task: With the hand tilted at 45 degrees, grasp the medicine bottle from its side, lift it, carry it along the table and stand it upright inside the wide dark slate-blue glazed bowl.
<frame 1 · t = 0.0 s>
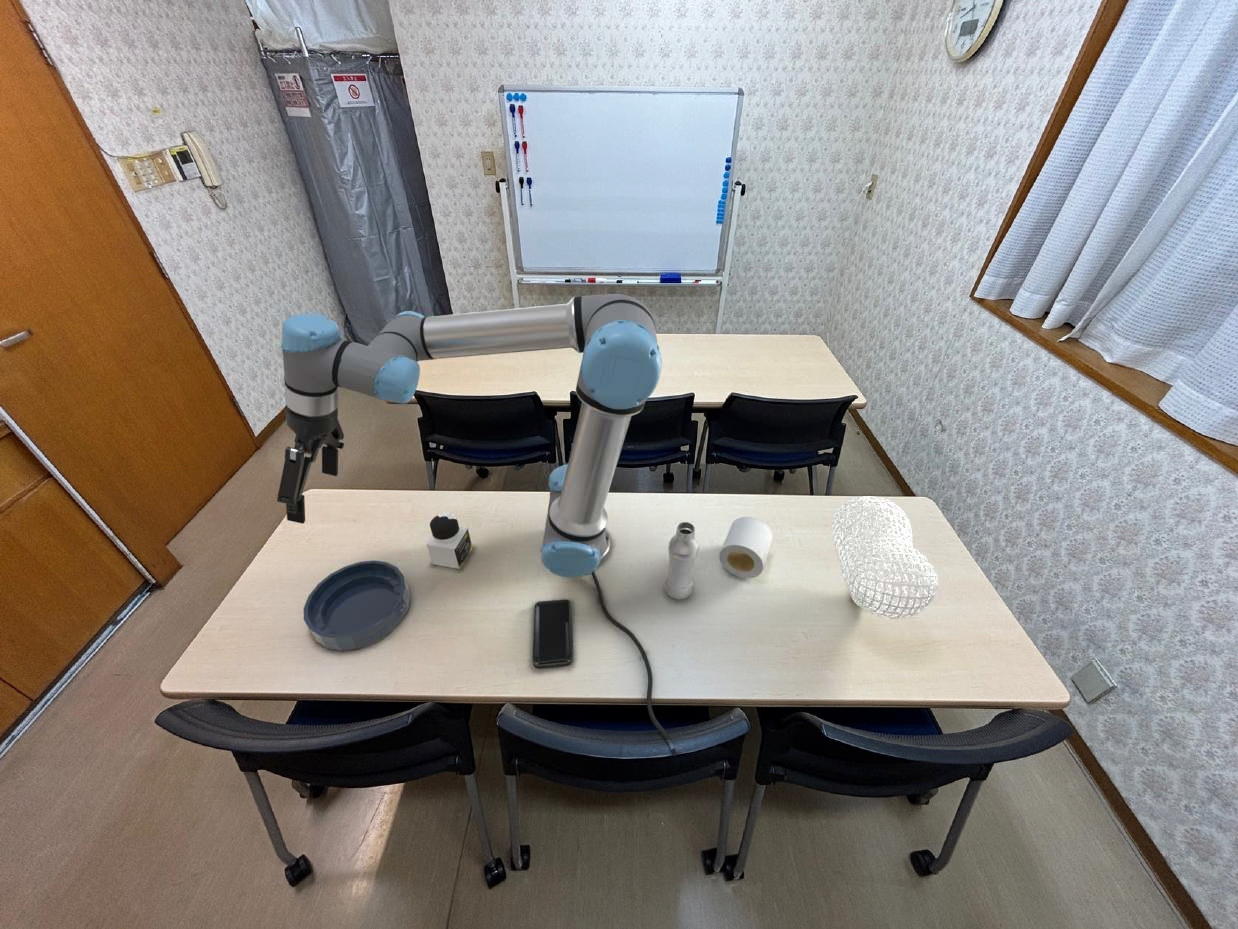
hand: (314, 495, 97), 28 cm above the table, tool tilted 20°, fingers open, 13 cm apart
medicine bottle: (453, 556, 122), on the table
toilet paper: (742, 562, 122), on the table
phone: (553, 633, 105), on the table
bowl: (362, 610, 109), on the table
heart: (857, 600, 113), on the table
plastic bottle: (678, 592, 114), on the table
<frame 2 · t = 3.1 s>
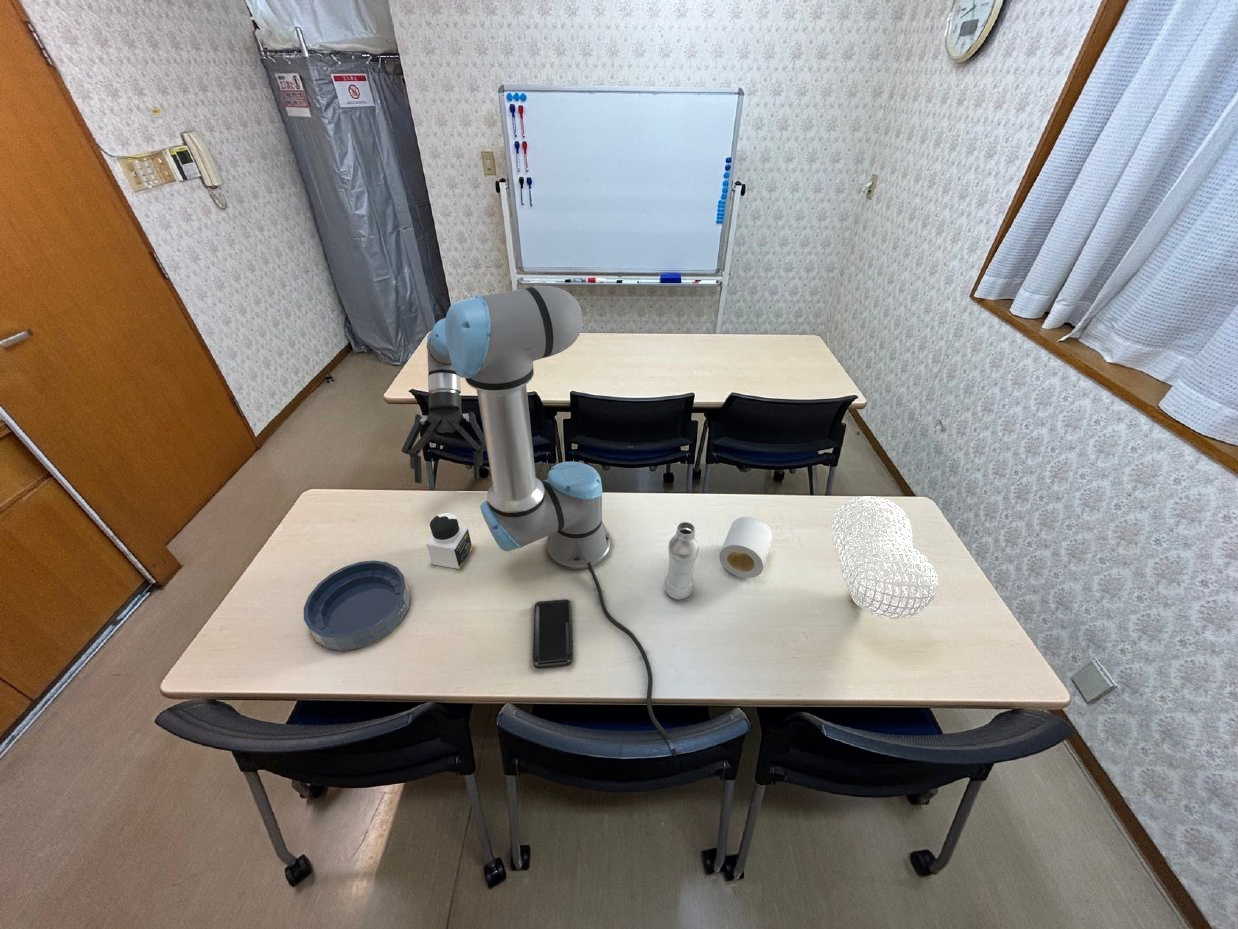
hand: (447, 481, 121), 15 cm above the table, tool tilted 45°, fingers open, 13 cm apart
nothing on the table moved.
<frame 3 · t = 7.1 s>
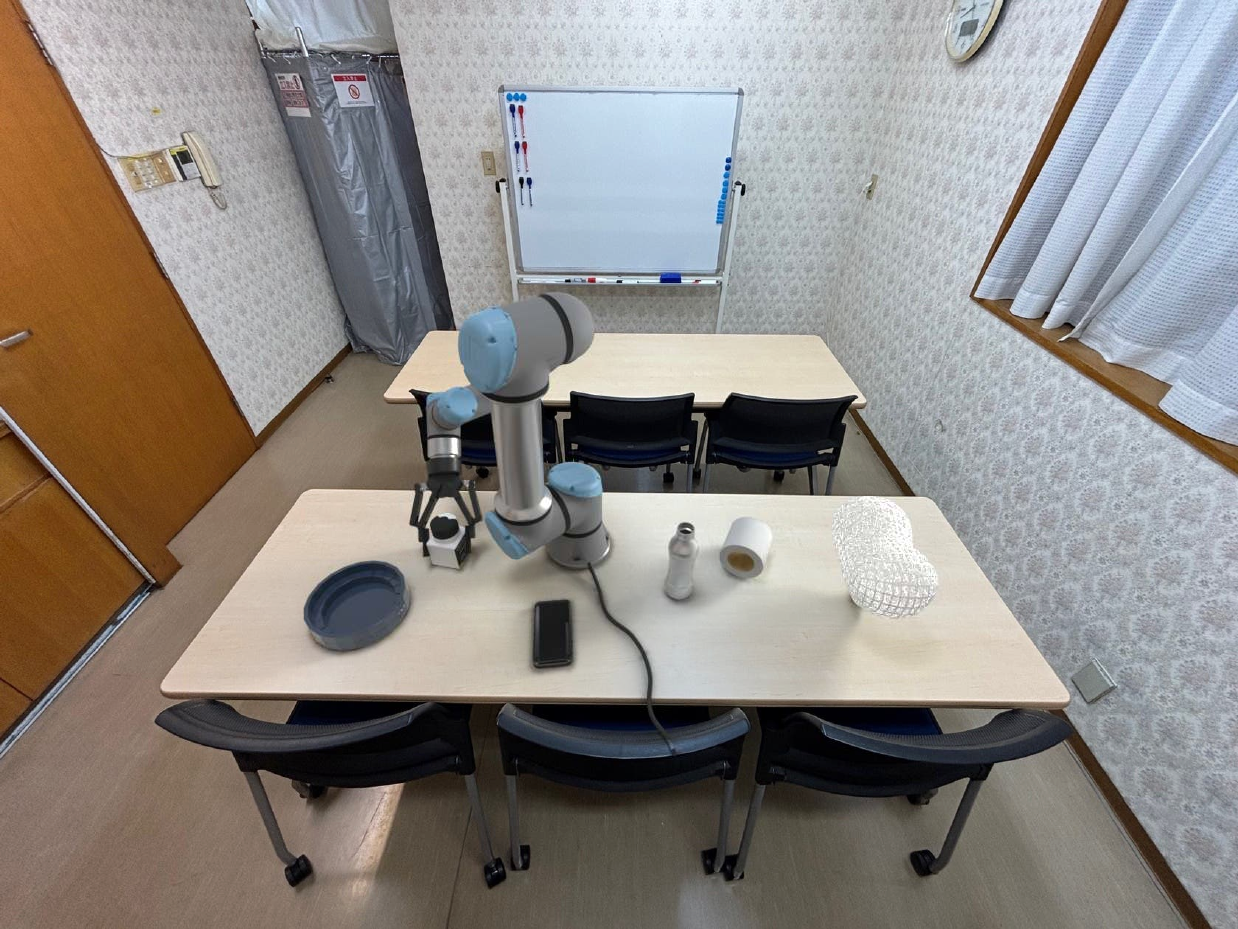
hand: (447, 555, 117), 4 cm above the table, tool tilted 45°, fingers closed on medicine bottle, 9 cm apart
medicine bottle: (453, 556, 122), on the table, touching gripper
everything else where it was.
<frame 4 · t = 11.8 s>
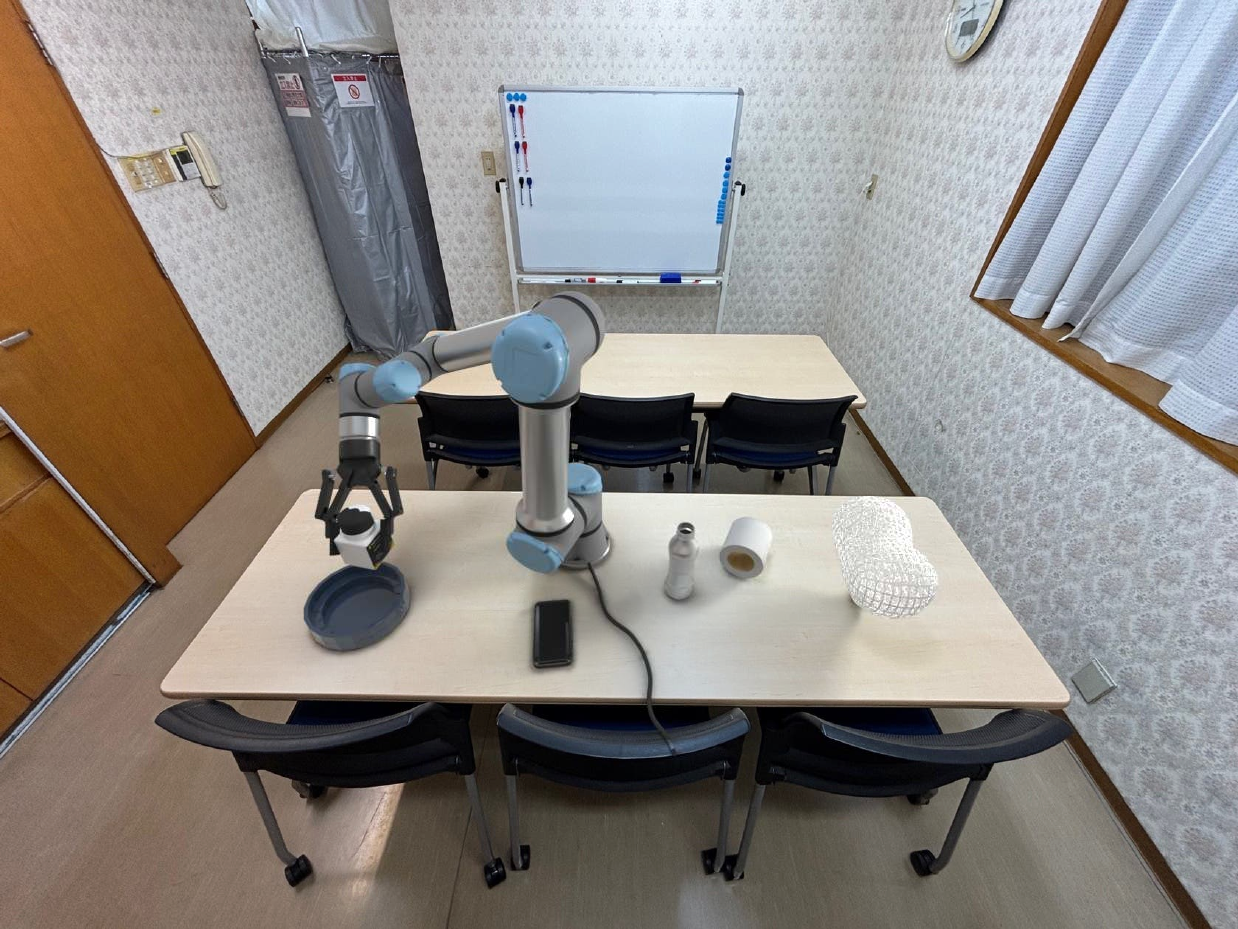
hand: (359, 553, 100), 17 cm above the table, tool tilted 45°, fingers closed on medicine bottle, 9 cm apart
medicine bottle: (370, 555, 105), point 13 cm above the table, touching gripper
everything else where it was.
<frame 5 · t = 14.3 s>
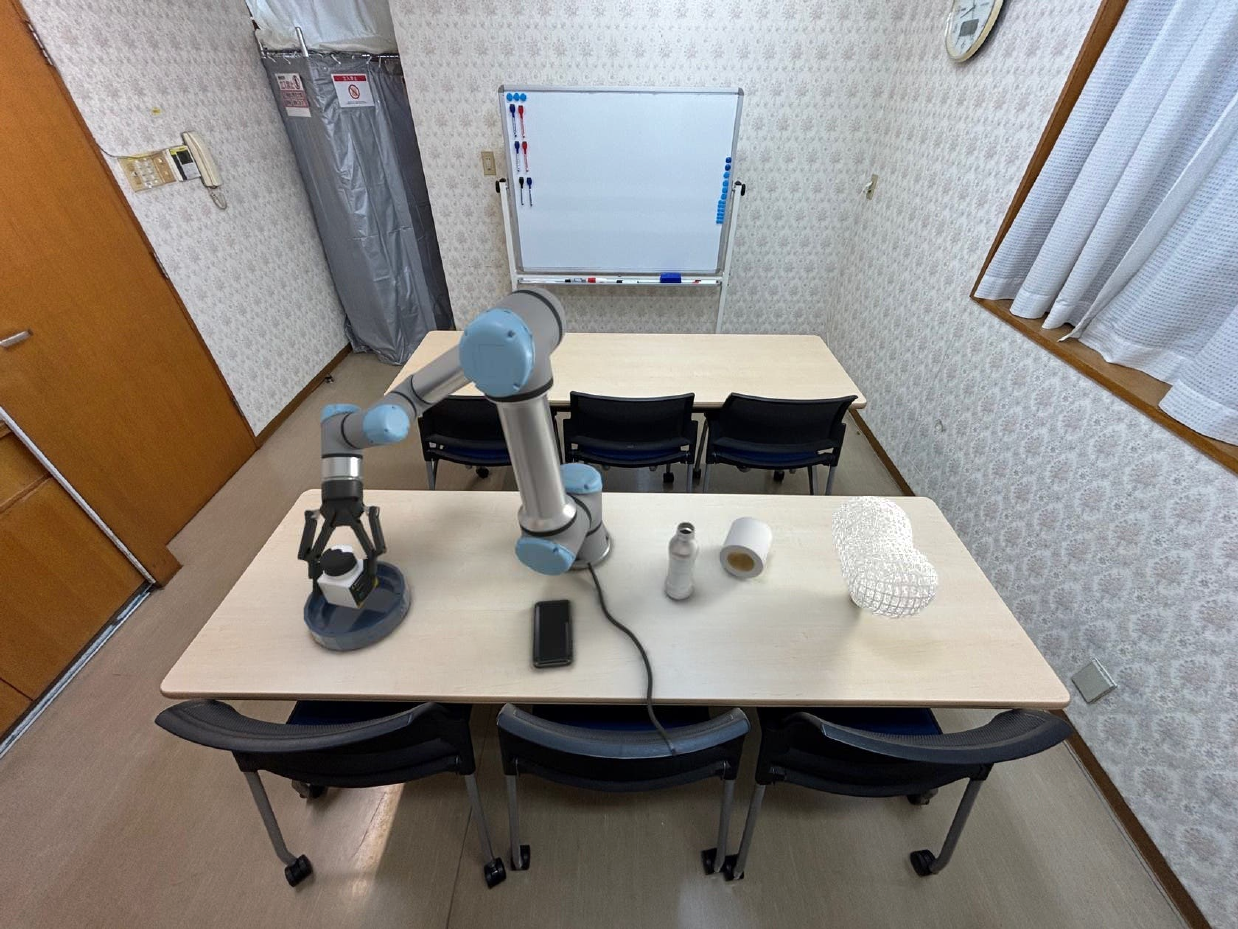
hand: (343, 593, 101), 10 cm above the table, tool tilted 45°, fingers closed on medicine bottle, 9 cm apart
medicine bottle: (354, 593, 106), point 6 cm above the table, touching gripper
everything else where it was.
when the fingers open (5 cm above the table, at t = 16.4 s): medicine bottle stays where it is, resting on bowl.
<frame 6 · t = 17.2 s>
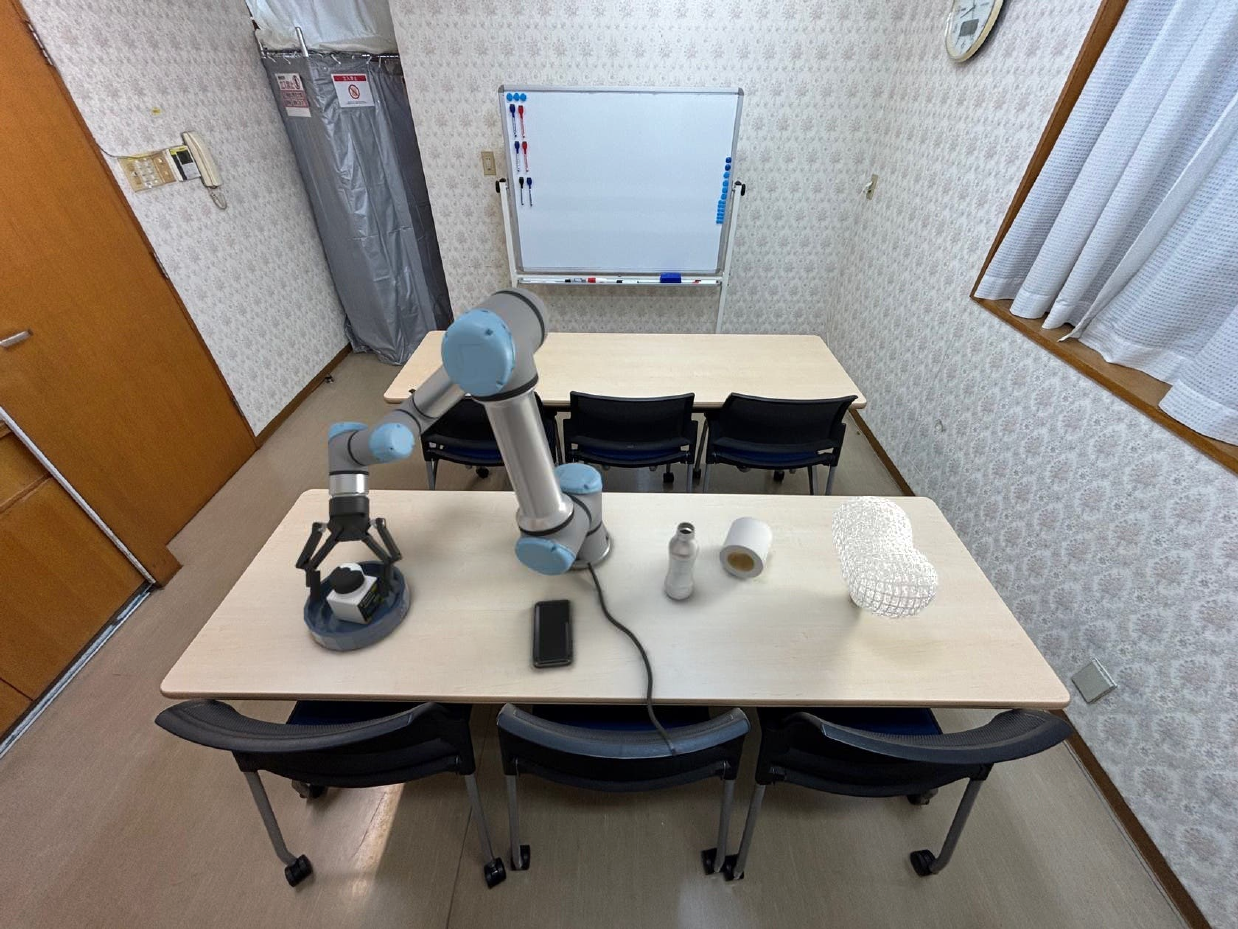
hand: (350, 600, 104), 7 cm above the table, tool tilted 45°, fingers open, 13 cm apart
medicine bottle: (362, 609, 109), resting on bowl
everything else where it was.
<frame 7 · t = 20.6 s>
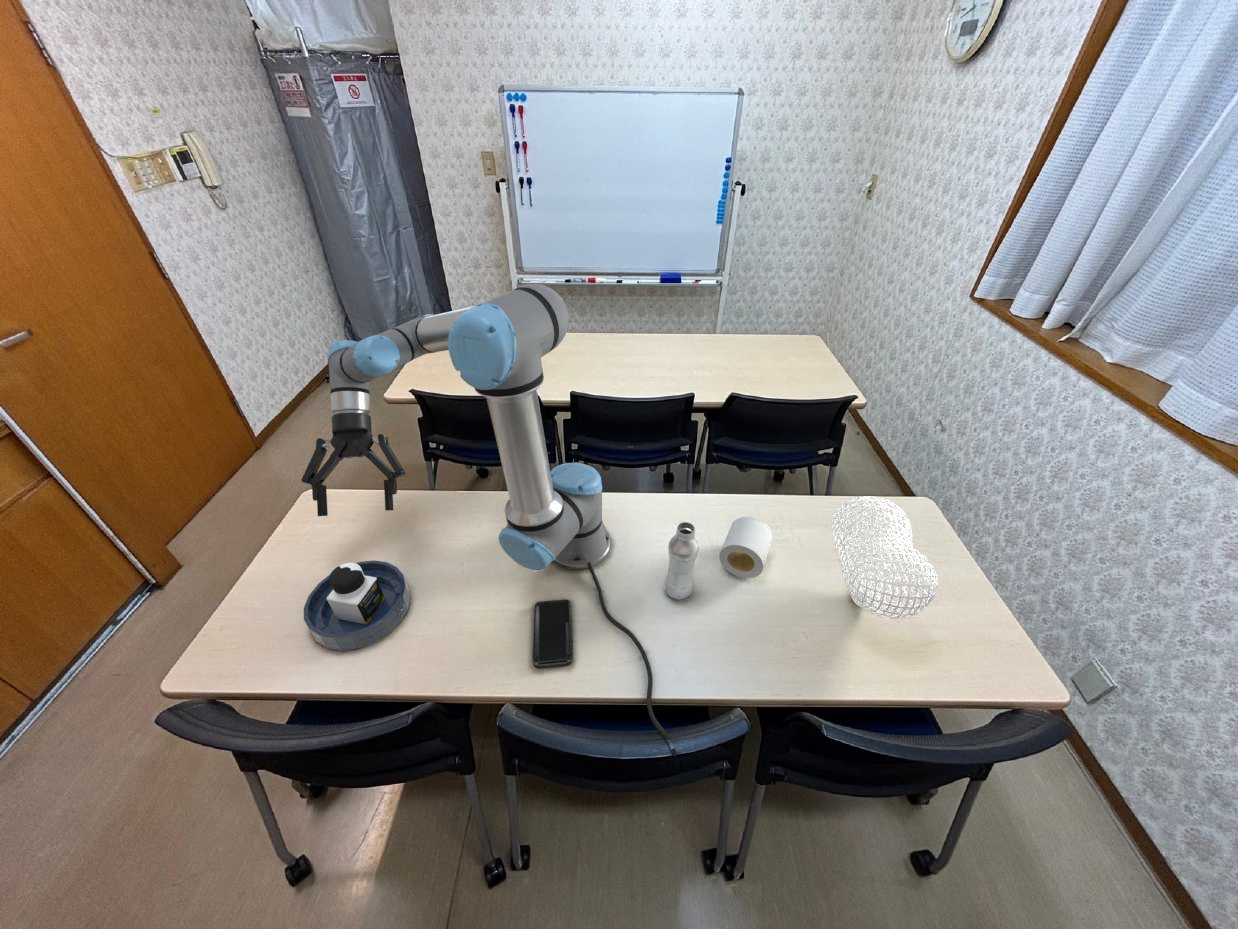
hand: (356, 513, 108), 18 cm above the table, tool tilted 40°, fingers open, 13 cm apart
nothing on the table moved.
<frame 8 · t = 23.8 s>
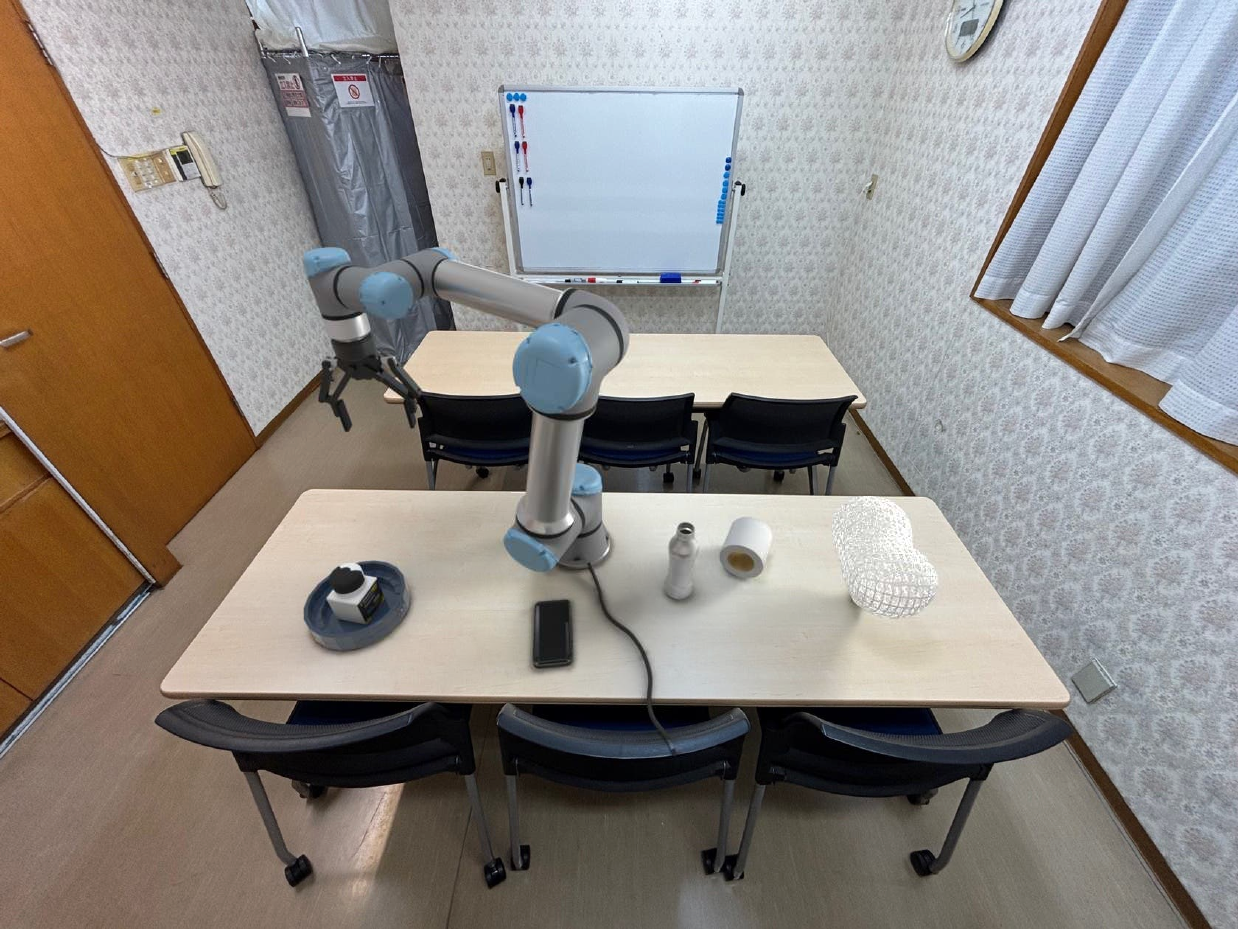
hand: (381, 426, 111), 31 cm above the table, tool pointing down, fingers open, 13 cm apart
nothing on the table moved.
at the end: medicine bottle inside the target area in the bowl (0.1 cm from its centre), point 0.4 cm above the bowl's base; medicine bottle tilted 0°; the gripper is holding nothing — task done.
